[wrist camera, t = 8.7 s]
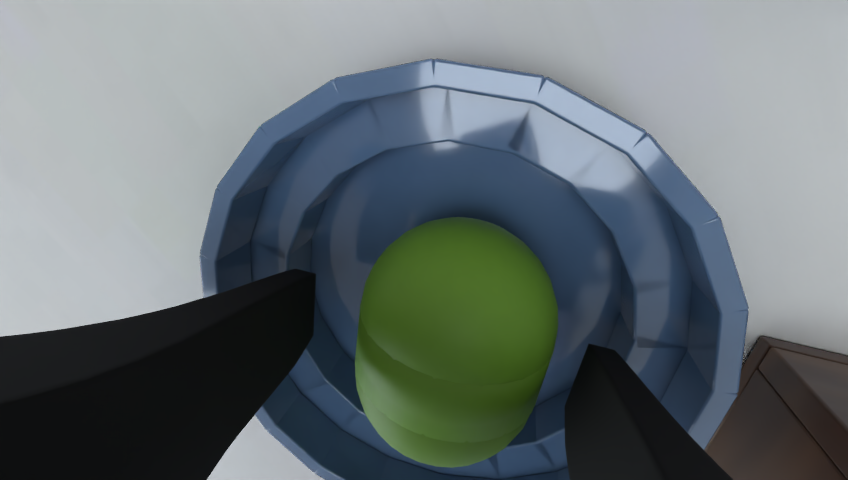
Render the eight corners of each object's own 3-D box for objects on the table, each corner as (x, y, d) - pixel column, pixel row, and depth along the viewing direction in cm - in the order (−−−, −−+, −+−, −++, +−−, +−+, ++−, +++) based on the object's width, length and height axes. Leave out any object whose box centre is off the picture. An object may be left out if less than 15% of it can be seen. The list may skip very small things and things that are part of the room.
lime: (505, 381, 14) (529, 529, 9) (367, 359, 14) (326, 496, 9) (556, 207, 11) (622, 297, 7) (387, 180, 11) (344, 252, 7)
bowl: (597, 481, 15) (618, 592, 11) (275, 382, 17) (217, 454, 13) (774, 113, 9) (902, 130, 6) (273, 35, 11) (176, 18, 8)
